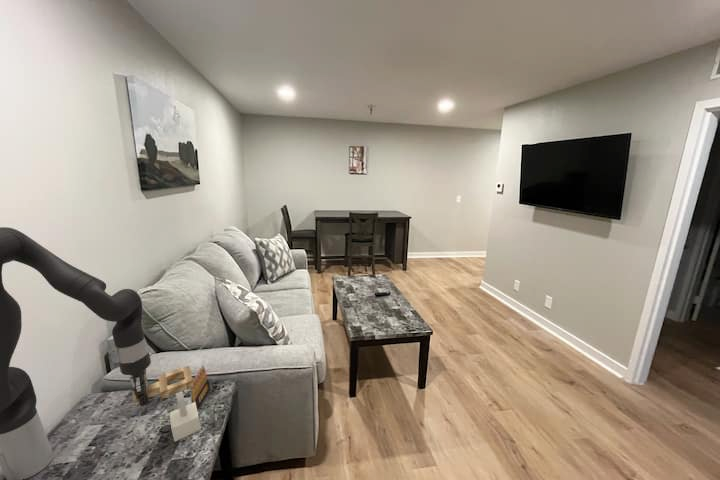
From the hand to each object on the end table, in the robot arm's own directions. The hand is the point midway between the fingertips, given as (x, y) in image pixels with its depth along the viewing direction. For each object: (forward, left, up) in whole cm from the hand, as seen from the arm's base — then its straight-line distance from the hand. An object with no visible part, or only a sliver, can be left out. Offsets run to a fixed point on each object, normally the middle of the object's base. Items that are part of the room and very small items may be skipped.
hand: (144, 400), depth 95 cm
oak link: (+6, 0, +2) cm, 6 cm away
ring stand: (+9, 0, -17) cm, 19 cm away
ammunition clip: (+16, +11, -17) cm, 25 cm away
